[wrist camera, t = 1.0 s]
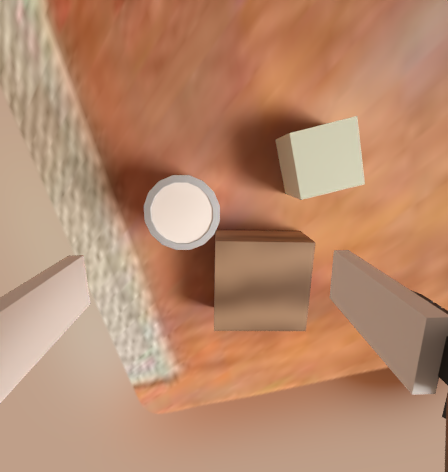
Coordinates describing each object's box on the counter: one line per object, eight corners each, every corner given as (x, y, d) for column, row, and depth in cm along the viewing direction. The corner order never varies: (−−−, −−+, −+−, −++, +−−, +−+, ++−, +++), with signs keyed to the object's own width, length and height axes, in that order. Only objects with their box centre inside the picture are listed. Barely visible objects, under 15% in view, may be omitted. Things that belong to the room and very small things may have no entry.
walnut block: (215, 229, 32) (215, 241, 27) (300, 231, 32) (315, 242, 28) (214, 307, 34) (213, 330, 30) (293, 308, 35) (305, 331, 30)
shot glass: (146, 195, 31) (127, 203, 24) (196, 160, 30) (191, 158, 23) (182, 243, 32) (173, 264, 26) (231, 211, 32) (235, 224, 25)
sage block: (275, 139, 30) (289, 133, 24) (329, 125, 30) (357, 116, 24) (285, 193, 31) (301, 199, 26) (336, 181, 31) (364, 184, 25)
